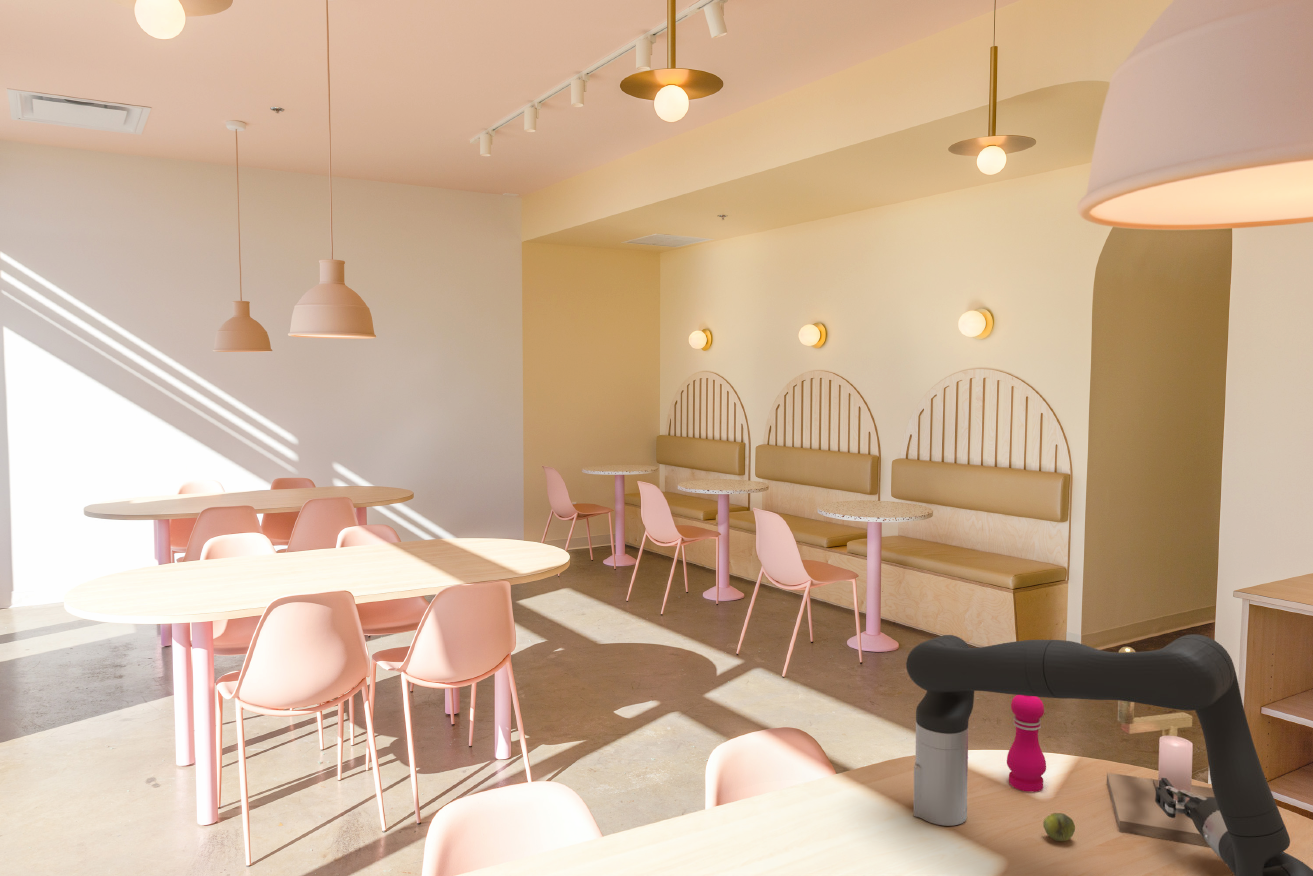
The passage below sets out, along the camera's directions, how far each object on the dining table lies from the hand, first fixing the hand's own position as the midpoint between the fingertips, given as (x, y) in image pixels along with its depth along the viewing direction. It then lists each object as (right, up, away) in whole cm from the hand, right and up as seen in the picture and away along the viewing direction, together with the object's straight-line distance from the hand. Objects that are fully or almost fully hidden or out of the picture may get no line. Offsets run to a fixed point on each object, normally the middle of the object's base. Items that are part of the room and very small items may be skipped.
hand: (1189, 785), depth 150 cm
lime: (-23, -10, -1) cm, 25 cm away
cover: (+1, -7, +7) cm, 10 cm away
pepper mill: (-21, -8, +19) cm, 29 cm away
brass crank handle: (0, -5, +12) cm, 13 cm away
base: (+1, -9, +7) cm, 11 cm away
